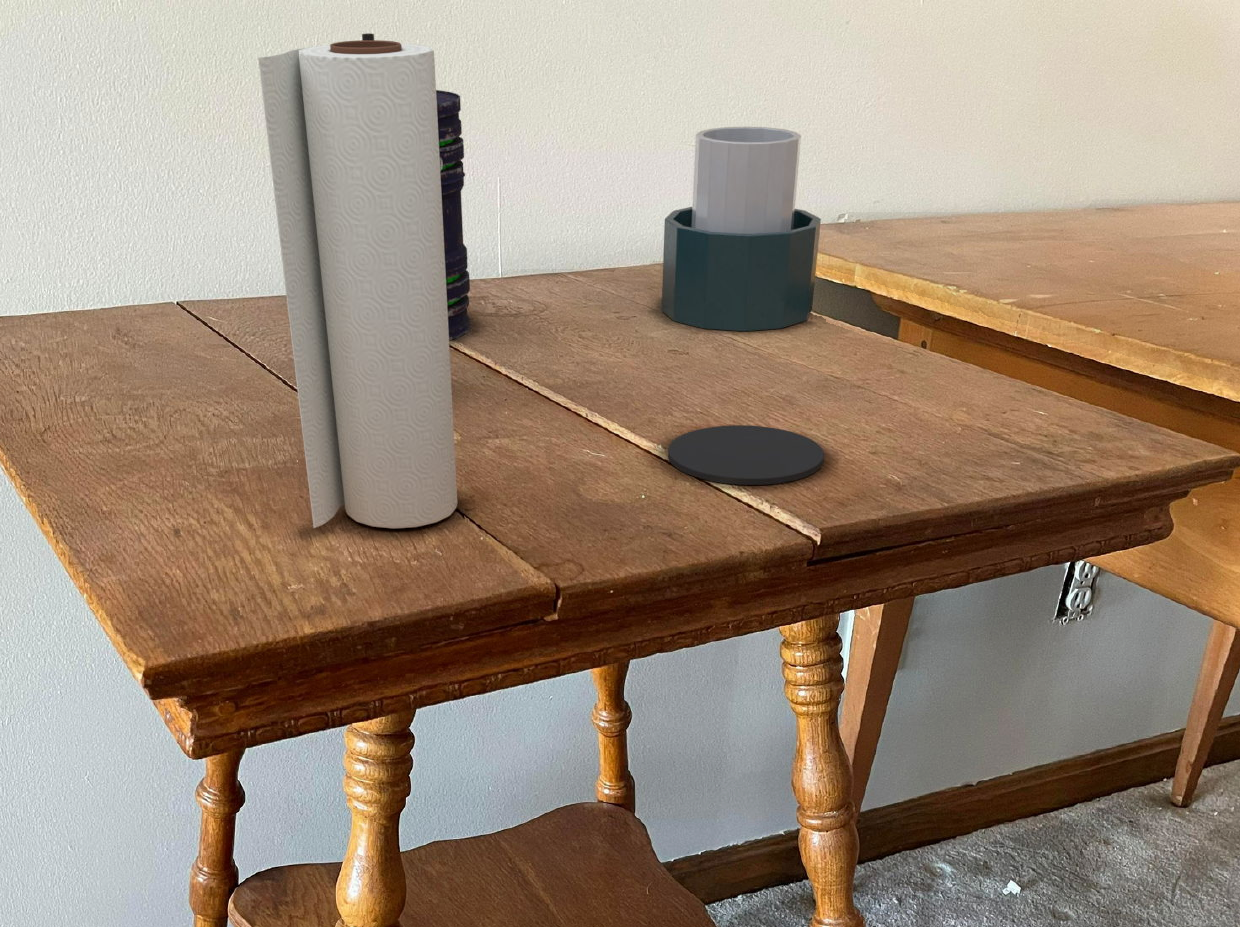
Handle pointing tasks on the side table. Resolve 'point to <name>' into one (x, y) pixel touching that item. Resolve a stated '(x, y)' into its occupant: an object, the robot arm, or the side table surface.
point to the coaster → (745, 455)
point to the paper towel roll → (365, 276)
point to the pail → (739, 274)
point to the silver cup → (745, 180)
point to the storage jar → (453, 212)
